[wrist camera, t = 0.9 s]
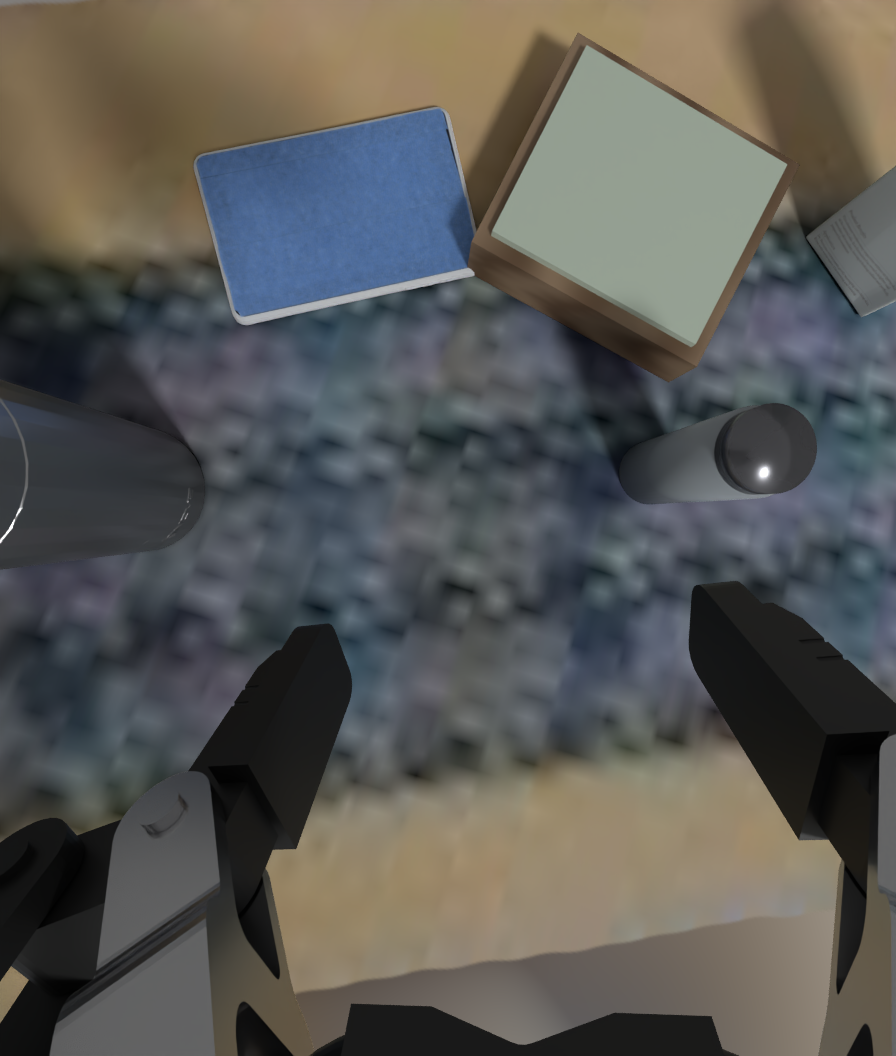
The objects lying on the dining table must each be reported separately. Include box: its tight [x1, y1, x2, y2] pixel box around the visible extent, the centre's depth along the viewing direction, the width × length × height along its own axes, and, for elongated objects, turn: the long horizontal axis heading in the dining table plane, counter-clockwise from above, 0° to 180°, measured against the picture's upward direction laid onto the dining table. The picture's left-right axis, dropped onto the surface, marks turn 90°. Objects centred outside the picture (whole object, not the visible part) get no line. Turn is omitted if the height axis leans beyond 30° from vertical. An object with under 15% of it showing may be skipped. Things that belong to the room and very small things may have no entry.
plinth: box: [467, 33, 799, 382], centre depth 31 cm, size 18×16×4 cm
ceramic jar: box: [619, 403, 817, 504], centre depth 28 cm, size 5×5×12 cm
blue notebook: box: [194, 107, 477, 325], centre depth 32 cm, size 19×13×1 cm, turn 104°
